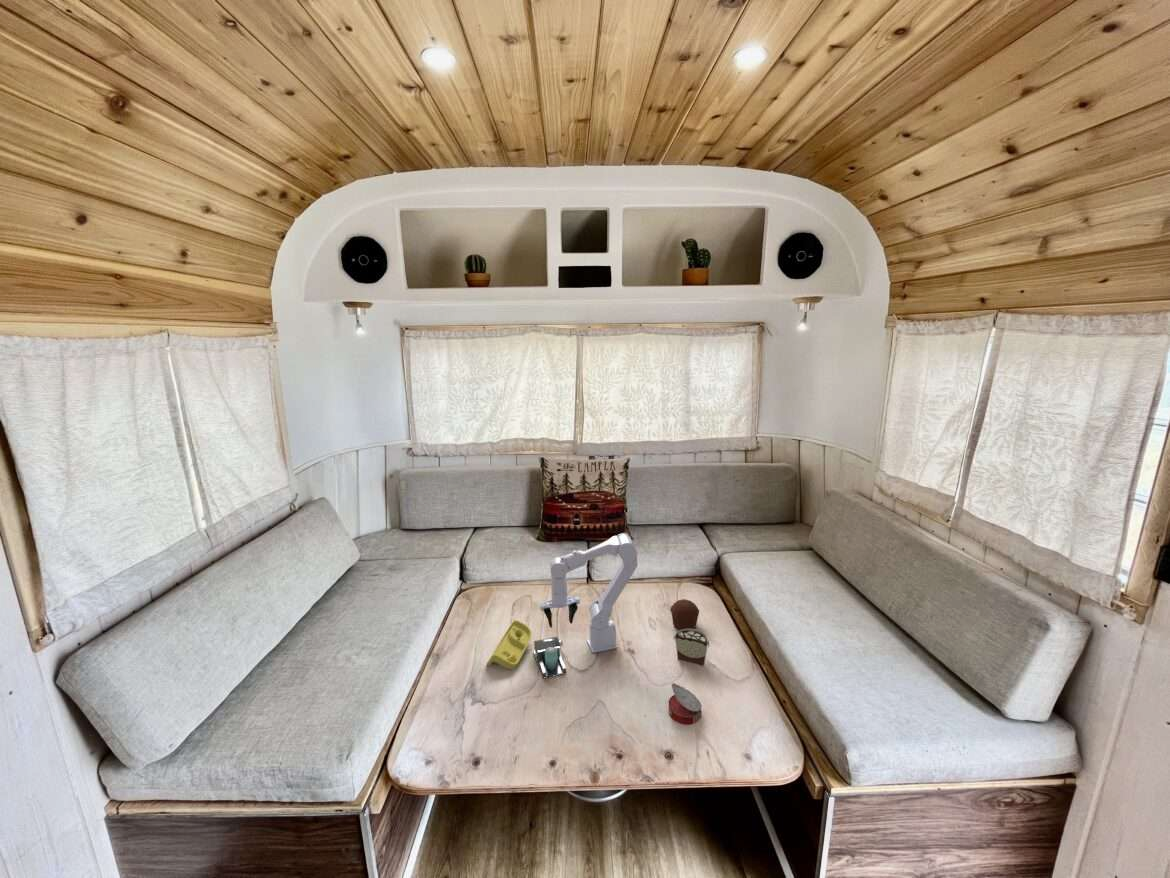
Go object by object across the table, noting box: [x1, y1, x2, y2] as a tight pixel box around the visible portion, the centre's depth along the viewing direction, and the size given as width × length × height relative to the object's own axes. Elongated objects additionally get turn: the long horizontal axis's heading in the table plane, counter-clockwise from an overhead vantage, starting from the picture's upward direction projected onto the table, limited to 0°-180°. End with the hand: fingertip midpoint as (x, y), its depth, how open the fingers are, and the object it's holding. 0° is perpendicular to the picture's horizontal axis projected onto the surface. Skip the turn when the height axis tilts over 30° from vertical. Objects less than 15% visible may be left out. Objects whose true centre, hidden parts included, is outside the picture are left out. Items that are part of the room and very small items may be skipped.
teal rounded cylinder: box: [545, 647, 558, 670], centre depth 170 cm, size 4×4×7 cm
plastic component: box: [486, 619, 532, 671], centre depth 179 cm, size 20×7×10 cm
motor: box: [533, 636, 567, 679], centre depth 173 cm, size 10×15×6 cm
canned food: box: [668, 682, 702, 726], centre depth 148 cm, size 11×10×10 cm
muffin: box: [669, 598, 700, 631], centre depth 192 cm, size 12×11×10 cm
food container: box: [673, 628, 710, 667], centre depth 173 cm, size 12×6×10 cm, turn 65°
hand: (560, 624), depth 179 cm, fingers open, 7 cm apart
